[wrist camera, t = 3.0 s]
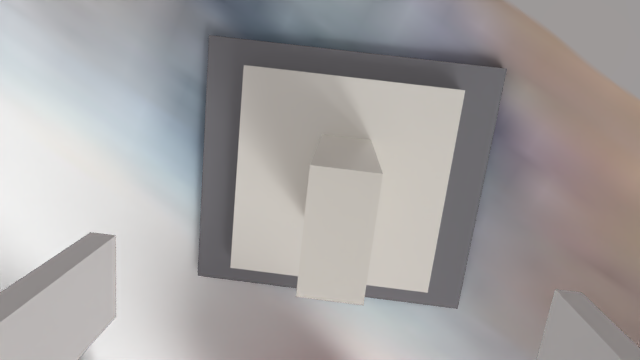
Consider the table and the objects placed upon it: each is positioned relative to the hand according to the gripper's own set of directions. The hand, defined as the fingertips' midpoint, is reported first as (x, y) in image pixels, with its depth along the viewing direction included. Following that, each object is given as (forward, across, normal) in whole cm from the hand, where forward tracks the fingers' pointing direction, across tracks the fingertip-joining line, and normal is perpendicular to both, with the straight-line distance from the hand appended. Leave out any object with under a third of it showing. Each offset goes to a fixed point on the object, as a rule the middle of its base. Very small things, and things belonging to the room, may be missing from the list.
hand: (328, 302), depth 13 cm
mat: (+17, 0, 0) cm, 17 cm away
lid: (+16, 0, 0) cm, 16 cm away
